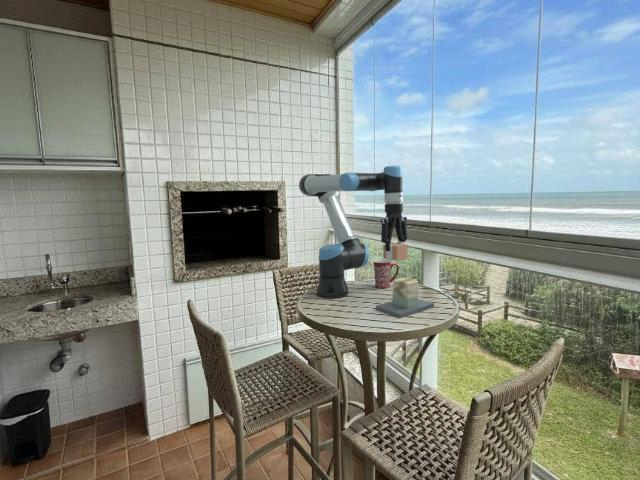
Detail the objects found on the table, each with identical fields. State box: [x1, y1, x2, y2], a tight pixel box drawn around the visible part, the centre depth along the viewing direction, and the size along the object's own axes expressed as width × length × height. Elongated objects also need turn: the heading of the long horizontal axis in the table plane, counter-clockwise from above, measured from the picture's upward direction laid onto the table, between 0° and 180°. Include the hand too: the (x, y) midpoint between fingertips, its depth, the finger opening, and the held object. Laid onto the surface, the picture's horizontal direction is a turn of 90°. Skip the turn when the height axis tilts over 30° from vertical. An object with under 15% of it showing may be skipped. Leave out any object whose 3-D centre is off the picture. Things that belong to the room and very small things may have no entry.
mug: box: [372, 258, 400, 290], centre depth 167 cm, size 13×9×14 cm
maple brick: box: [392, 277, 419, 299], centre depth 134 cm, size 8×6×6 cm
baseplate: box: [375, 293, 435, 319], centre depth 135 cm, size 13×20×6 cm, turn 125°
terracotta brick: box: [382, 243, 408, 262], centre depth 142 cm, size 8×6×6 cm
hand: (394, 257), depth 142 cm, fingers closed on terracotta brick, 6 cm apart
